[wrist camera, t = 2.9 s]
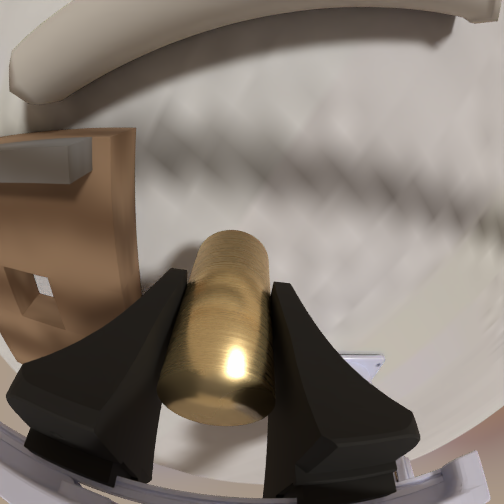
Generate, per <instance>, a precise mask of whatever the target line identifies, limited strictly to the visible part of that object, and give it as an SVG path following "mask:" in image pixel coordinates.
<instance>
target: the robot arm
mask: <svg viewBox="0 0 504 504" xmlns="http://www.w3.org/2000/svg"><path fill="white" fill-rule="evenodd" d="M186 287H187V270H181V269H174V268H171V269H170V270H168V271H167V272H166V273H165V274H164V275H163V276H162V277H161V278H160V279H159V280H158V281H157V282H156V283H155V284H154V285H153V286H152V287H151V288H150V289H149V290H148V291H147V292H146V293H145V294H144V295H142V296H141V297H140V298H139V299H138V300H137V301H136V302H135V303H133V304H132V305H131V306H130V307H128V308H127V309H126V310H125V311H124V312H122V313H121V314H120V315H119V316H117V317H116V318H115V319H113V320H112V321H110V322H109V323H108V324H106V325H105V326H103V327H102V328H100V329H99V330H97V331H95V332H93V333H92V334H90V335H88V336H86V337H85V338H83V339H81V340H80V341H78V342H76V343H74V344H72V345H70V346H68V347H65V348H63V349H61V350H59V351H56V352H54V353H52V354H49V355H46V356H44V357H41V358H38V359H35V360H32V361H29V362H26V363H23V365H22V366H21V368H20V370H19V372H18V373H17V375H16V377H15V379H14V381H13V382H12V384H11V386H10V388H9V390H8V392H7V394H6V398H7V401H8V403H9V405H10V406H11V407H12V409H13V410H14V411H15V412H16V413H17V414H18V415H19V416H20V417H21V418H22V420H23V421H24V422H25V423H26V424H27V425H28V426H29V427H30V430H29V433H28V435H27V437H25V436H23V435H21V434H20V433H18V432H16V431H15V430H13V429H11V428H10V427H8V426H6V425H5V424H3V423H2V422H0V497H2V498H3V499H4V500H6V501H7V502H8V503H9V504H117V503H115V502H113V501H111V500H110V499H109V498H107V497H104V496H102V495H99V494H97V493H94V492H92V491H89V490H87V489H85V488H83V487H82V486H81V485H80V483H81V484H84V485H87V486H89V487H91V488H94V489H97V490H100V491H102V492H106V493H108V494H111V495H114V496H118V497H121V498H124V499H128V500H131V501H134V502H138V503H142V504H485V503H487V502H488V501H489V500H490V494H489V490H488V486H487V482H486V479H485V475H484V471H483V468H482V464H481V461H480V458H479V455H478V452H477V451H476V450H474V451H472V452H470V453H468V454H465V455H463V456H461V457H458V458H456V459H454V460H452V461H451V462H449V463H447V464H446V465H444V466H443V467H442V468H440V469H437V470H435V471H432V472H429V473H426V474H423V475H420V476H417V477H414V474H413V470H412V466H411V463H410V460H409V458H408V457H405V456H403V455H405V454H406V453H407V452H409V451H410V450H412V449H413V448H414V447H415V446H416V445H417V444H418V442H419V441H420V434H419V430H418V427H417V424H416V421H415V418H414V415H413V413H412V412H411V411H410V410H408V409H407V408H405V407H403V406H402V405H400V404H399V403H397V402H395V401H394V400H392V399H391V398H389V397H388V396H386V395H385V394H384V393H382V392H381V391H380V390H378V389H377V388H376V387H374V386H373V385H372V382H371V380H372V379H373V377H374V376H375V375H376V373H377V372H378V370H379V369H380V368H381V366H382V365H383V363H384V362H385V357H384V355H340V354H339V353H338V352H337V351H336V350H335V349H334V348H333V347H332V345H331V344H330V343H329V342H328V340H327V339H326V338H325V336H324V335H323V334H322V332H321V331H320V330H319V328H318V327H317V326H316V324H315V323H314V321H313V320H312V318H311V317H310V315H309V314H308V312H307V311H306V309H305V307H304V306H303V304H302V302H301V301H300V299H299V297H298V296H297V294H296V292H295V291H294V289H293V287H292V286H291V284H290V283H282V282H274V283H273V288H272V292H271V315H272V334H273V355H274V378H275V407H274V409H273V411H272V412H271V413H270V414H269V415H268V436H267V455H266V469H265V481H264V491H263V498H238V497H223V496H213V495H204V494H197V493H191V492H184V491H178V490H172V489H168V488H163V487H158V486H154V485H149V484H146V483H148V482H150V481H151V480H152V470H153V460H154V450H155V443H156V435H157V428H158V422H159V416H160V410H161V405H162V402H161V400H160V399H159V397H158V394H157V384H158V381H159V377H160V373H161V370H162V366H163V363H164V359H165V356H166V352H167V349H168V345H169V342H170V339H171V335H172V332H173V328H174V325H175V322H176V319H177V315H178V312H179V309H180V306H181V303H182V299H183V296H184V293H185V290H186ZM396 473H397V475H396ZM397 478H398V479H397ZM78 482H79V483H78Z"/></svg>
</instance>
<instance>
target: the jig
mask: <svg viewBox="0 0 504 504" xmlns="http://www.w3.org/2000/svg"><path fill="white" fill-rule="evenodd" d="M135 140H136V128H85V129H67V130H54V131H43V132H34V133H25V134H17V135H10V136H4V137H0V333H1V335H2V337H3V338H4V340H5V342H6V344H7V345H8V347H9V349H10V351H11V352H12V354H13V355H14V357H15V359H16V360H17V362H19V363H21V364H23V363H26V362H29V361H32V360H35V359H38V358H41V357H44V356H46V355H49V354H52V353H54V352H56V351H59V350H61V349H63V348H65V347H68V346H70V345H72V344H74V343H76V342H78V341H80V340H81V339H83V338H85V337H86V336H88V335H90V334H92V333H93V332H95V331H97V330H99V329H100V328H102V327H103V326H105V325H106V324H108V323H109V322H110V321H112V320H113V319H115V318H116V317H117V316H119V315H120V314H121V313H122V312H124V311H125V310H126V309H127V308H128V307H130V306H131V305H132V304H133V303H135V302H136V301H137V300H138V299H139V298H140V297H141V296H142V292H141V283H140V273H139V262H138V250H137V235H136V214H135ZM33 274H35V275H39V276H43V277H48V280H49V283H50V287H51V290H52V293H53V296H54V297H51V296H47V295H43V294H40V293H39V291H38V288H37V285H36V282H35V279H34V276H33Z"/></svg>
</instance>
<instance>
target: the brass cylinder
mask: <svg viewBox="0 0 504 504" xmlns="http://www.w3.org/2000/svg"><path fill="white" fill-rule="evenodd" d="M157 394H158V397H159V399H160V400H161V402H162V403H163V404H164V405H165V406H166V407H167V408H169V409H170V410H171V411H173V412H174V413H176V414H178V415H180V416H182V417H184V418H186V419H189V420H192V421H195V422H199V423H203V424H208V425H216V426H238V425H245V424H249V423H253V422H256V421H259V420H261V419H263V418H265V417H266V416H267V415H269V414H270V413H271V412H272V411H273V409H274V407H275V378H274V355H273V334H272V315H271V296H270V278H269V261H268V255H267V252H266V250H265V248H264V246H263V245H262V243H261V242H260V241H259V240H258V239H256V238H255V237H253V236H252V235H250V234H248V233H245V232H242V231H237V230H225V231H221V232H217V233H215V234H213V235H211V236H210V237H208V238H207V239H206V240H205V241H204V242H203V243H202V245H201V246H200V249H199V251H198V254H197V257H196V260H195V263H194V266H193V269H192V272H191V275H190V278H189V281H188V284H187V287H186V290H185V293H184V296H183V299H182V303H181V306H180V309H179V312H178V315H177V319H176V322H175V325H174V328H173V332H172V335H171V339H170V342H169V345H168V349H167V352H166V356H165V359H164V363H163V366H162V370H161V373H160V377H159V381H158V384H157Z"/></svg>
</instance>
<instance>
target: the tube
mask: <svg viewBox="0 0 504 504" xmlns="http://www.w3.org/2000/svg"><path fill="white" fill-rule="evenodd" d="M501 1H502V0H73V1H71V2H70V3H68V4H67V5H66V6H64V7H63V8H61V9H60V10H59V11H57V12H56V13H54V14H53V15H52V16H51V17H49V18H48V19H47V20H45V21H44V22H43V23H42V24H40V25H39V26H38V27H37V28H36V29H34V30H33V31H32V32H31V33H30V34H29V35H27V36H26V37H25V38H24V39H23V40H22V41H21V42H20V43H19V44H18V45H17V46H16V47H15V48H14V49H13V50H12V53H11V58H10V64H9V89H10V92H12V93H13V94H15V95H16V96H18V97H19V98H21V99H22V100H24V101H25V102H27V103H28V104H35V105H42V104H47V103H52V102H58V101H62V100H63V99H65V98H66V97H68V96H69V95H71V94H72V93H74V92H76V91H77V90H79V89H80V88H82V87H84V86H85V85H87V84H89V83H90V82H92V81H94V80H96V79H97V78H99V77H101V76H103V75H104V74H106V73H108V72H110V71H112V70H114V69H116V68H118V67H120V66H122V65H124V64H126V63H128V62H130V61H132V60H134V59H136V58H138V57H140V56H143V55H145V54H147V53H149V52H152V51H154V50H156V49H159V48H161V47H164V46H166V45H169V44H171V43H174V42H177V41H179V40H182V39H185V38H188V37H190V36H193V35H196V34H199V33H203V32H206V31H209V30H212V29H216V28H219V27H223V26H226V25H230V24H234V23H238V22H242V21H246V20H251V19H255V18H260V17H265V16H270V15H276V14H282V13H288V12H296V11H303V10H312V9H323V8H339V7H389V8H404V9H414V10H423V11H430V12H437V13H443V14H449V15H454V16H459V17H463V18H465V19H466V20H467V21H469V22H470V23H474V24H477V23H485V22H494V21H498V17H499V12H500V7H501Z"/></svg>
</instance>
